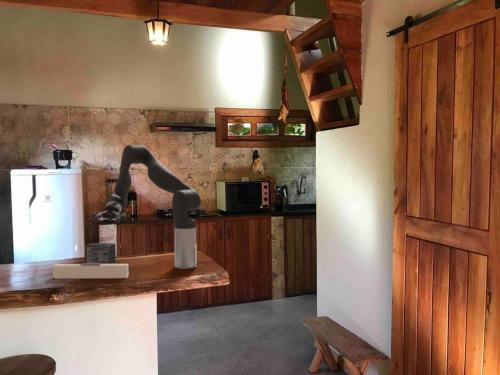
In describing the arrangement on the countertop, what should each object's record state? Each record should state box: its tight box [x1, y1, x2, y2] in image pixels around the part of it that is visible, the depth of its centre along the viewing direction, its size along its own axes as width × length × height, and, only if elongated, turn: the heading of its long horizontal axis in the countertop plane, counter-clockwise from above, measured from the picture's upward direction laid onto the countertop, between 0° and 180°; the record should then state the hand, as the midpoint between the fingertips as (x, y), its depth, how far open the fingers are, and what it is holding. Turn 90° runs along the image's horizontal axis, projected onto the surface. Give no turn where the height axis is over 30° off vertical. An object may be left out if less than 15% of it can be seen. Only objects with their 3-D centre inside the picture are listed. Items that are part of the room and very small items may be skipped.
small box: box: [85, 242, 117, 264], centre depth 165 cm, size 11×6×10 cm, turn 84°
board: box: [52, 262, 130, 280], centre depth 152 cm, size 28×3×5 cm, turn 94°
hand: (106, 220), depth 174 cm, fingers open, 8 cm apart
